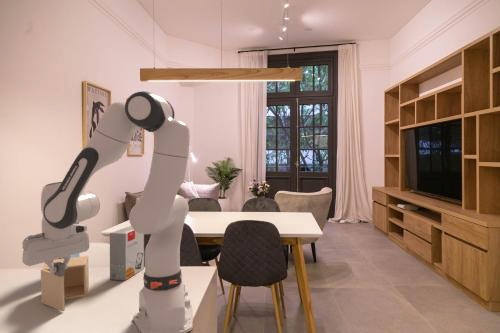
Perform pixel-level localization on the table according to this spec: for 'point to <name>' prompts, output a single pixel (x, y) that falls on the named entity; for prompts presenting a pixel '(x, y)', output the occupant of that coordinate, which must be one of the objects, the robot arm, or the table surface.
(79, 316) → the table surface
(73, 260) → the carton
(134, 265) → the hard drive box
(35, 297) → the table surface
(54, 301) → the front flap
